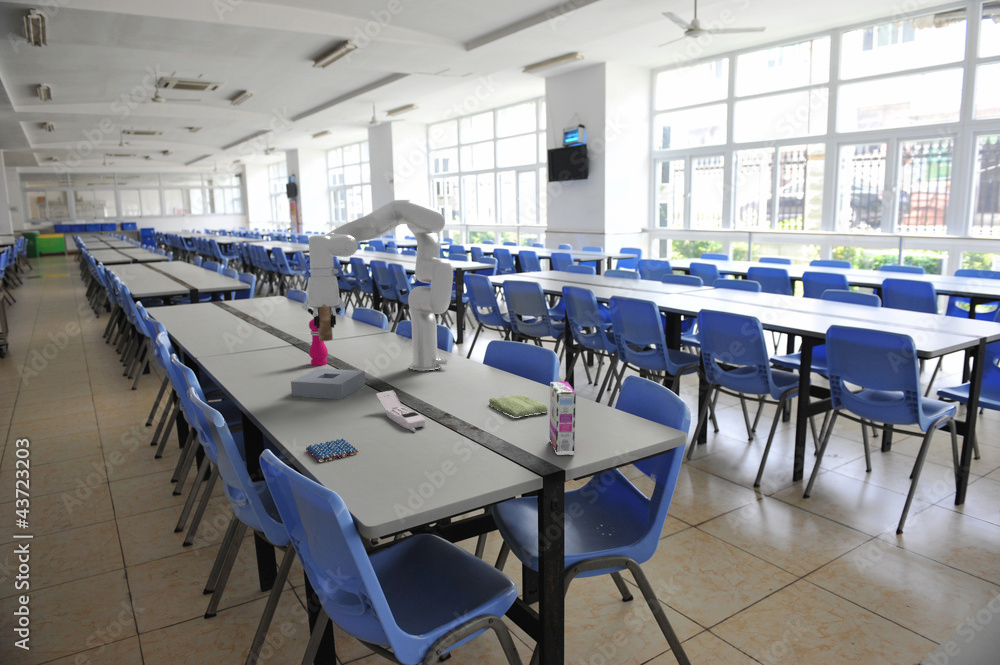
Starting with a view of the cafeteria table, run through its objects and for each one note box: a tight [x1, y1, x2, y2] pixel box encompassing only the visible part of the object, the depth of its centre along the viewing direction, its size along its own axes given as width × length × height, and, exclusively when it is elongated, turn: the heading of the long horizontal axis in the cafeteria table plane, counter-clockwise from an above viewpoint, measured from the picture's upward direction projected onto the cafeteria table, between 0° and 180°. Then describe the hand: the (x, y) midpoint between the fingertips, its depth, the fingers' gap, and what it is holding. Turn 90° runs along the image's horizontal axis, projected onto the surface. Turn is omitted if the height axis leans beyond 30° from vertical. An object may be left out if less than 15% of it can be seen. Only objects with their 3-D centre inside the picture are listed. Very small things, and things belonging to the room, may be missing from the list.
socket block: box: [290, 368, 366, 400], centre depth 224 cm, size 18×18×5 cm
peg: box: [317, 304, 334, 342], centre depth 220 cm, size 4×4×14 cm
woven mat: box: [305, 438, 359, 462], centre depth 168 cm, size 10×11×2 cm
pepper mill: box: [308, 314, 329, 367], centre depth 260 cm, size 7×7×20 cm
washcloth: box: [488, 394, 549, 417], centre depth 202 cm, size 13×18×3 cm
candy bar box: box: [549, 381, 577, 452], centre depth 168 cm, size 11×5×16 cm, turn 5°
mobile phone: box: [375, 389, 426, 432], centre depth 193 cm, size 6×6×25 cm
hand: (325, 326), depth 220 cm, fingers closed on peg, 4 cm apart
